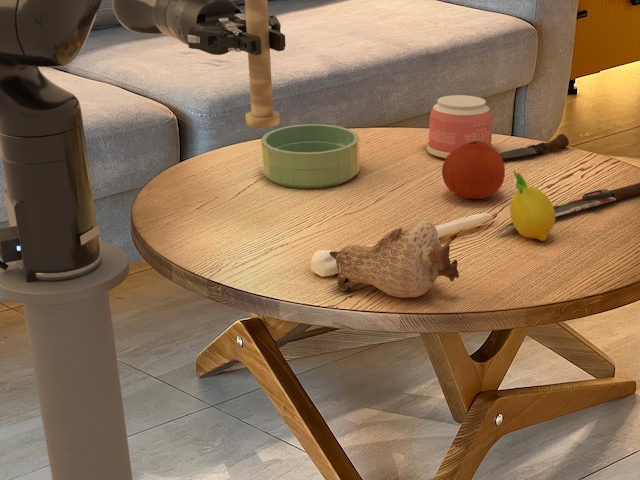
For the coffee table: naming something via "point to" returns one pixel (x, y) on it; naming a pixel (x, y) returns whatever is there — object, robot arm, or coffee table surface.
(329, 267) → the cream knobbed rod
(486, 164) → the fruit
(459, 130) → the container
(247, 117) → the stick
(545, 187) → the coffee table surface
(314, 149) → the bowl
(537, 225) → the lemon
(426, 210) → the coffee table surface
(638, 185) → the knife
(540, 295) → the coffee table surface
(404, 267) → the figurine
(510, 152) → the knife
